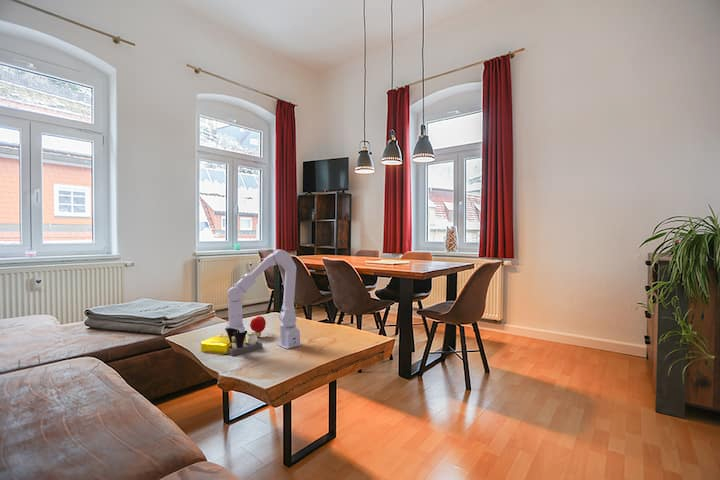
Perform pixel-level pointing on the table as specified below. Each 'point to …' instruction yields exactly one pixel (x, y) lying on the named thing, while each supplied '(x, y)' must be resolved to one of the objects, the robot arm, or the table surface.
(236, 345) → the fuse
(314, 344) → the table surface
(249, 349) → the fuse block
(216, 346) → the element tile
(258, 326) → the light bulb
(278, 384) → the table surface
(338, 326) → the table surface
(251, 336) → the cylinder
